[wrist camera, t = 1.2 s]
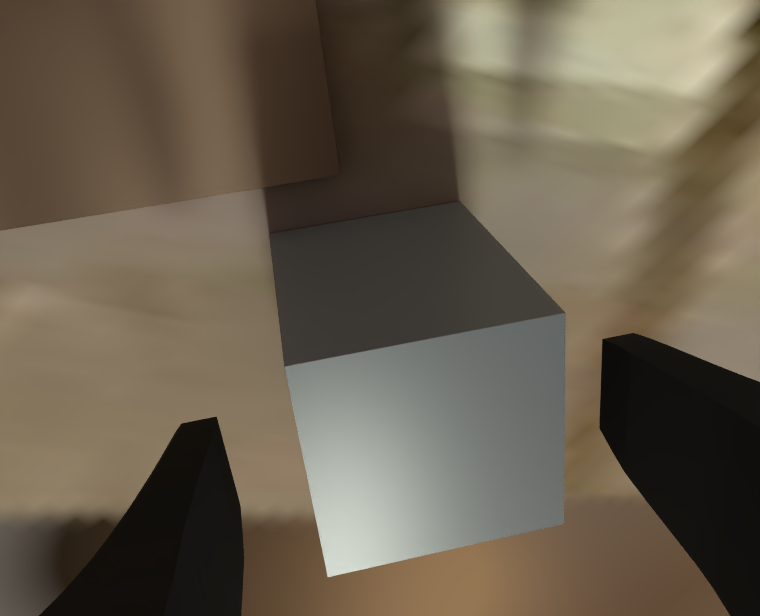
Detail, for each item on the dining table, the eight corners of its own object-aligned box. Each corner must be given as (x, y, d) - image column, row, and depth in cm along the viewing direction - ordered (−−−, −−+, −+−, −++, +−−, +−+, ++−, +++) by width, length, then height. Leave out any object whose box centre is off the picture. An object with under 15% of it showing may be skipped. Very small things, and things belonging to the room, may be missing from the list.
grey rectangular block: (460, 201, 16) (565, 313, 11) (470, 364, 18) (563, 523, 13) (269, 233, 16) (284, 367, 11) (301, 397, 18) (328, 577, 13)
